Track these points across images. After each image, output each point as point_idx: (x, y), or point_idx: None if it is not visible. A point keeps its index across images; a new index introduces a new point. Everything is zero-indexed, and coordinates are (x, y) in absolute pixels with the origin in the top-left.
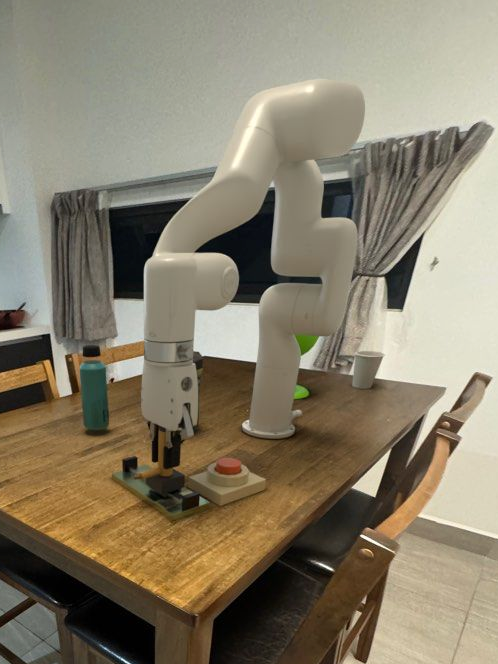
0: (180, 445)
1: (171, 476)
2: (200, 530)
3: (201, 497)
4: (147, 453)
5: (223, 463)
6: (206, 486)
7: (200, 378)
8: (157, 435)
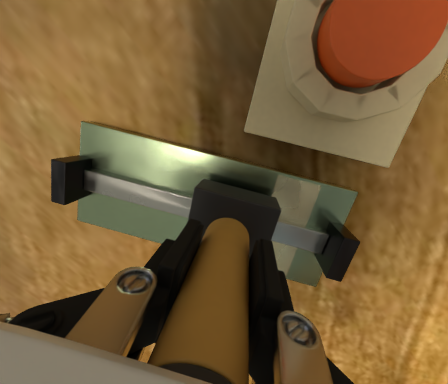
0: (282, 294)
1: (254, 243)
2: (378, 273)
3: (325, 185)
4: (5, 21)
5: (371, 50)
6: (323, 151)
7: None
8: (145, 341)
